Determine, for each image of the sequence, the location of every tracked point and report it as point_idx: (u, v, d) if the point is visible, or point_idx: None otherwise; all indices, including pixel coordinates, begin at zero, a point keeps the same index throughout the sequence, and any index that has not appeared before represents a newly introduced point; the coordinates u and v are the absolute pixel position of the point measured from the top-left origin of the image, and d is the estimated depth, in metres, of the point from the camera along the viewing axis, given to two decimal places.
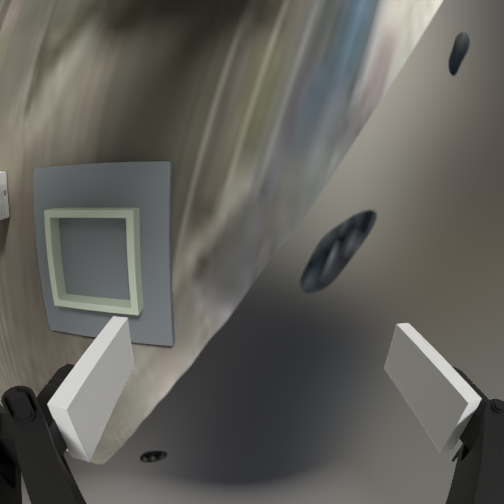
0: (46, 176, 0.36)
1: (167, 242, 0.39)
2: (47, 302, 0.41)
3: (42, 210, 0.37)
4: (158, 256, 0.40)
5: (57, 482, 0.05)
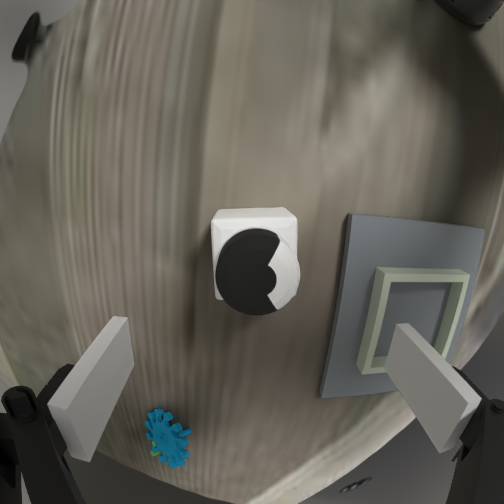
0: (372, 228, 0.34)
1: (470, 298, 0.37)
2: (332, 371, 0.39)
3: (360, 269, 0.35)
4: (461, 310, 0.38)
5: (57, 482, 0.05)
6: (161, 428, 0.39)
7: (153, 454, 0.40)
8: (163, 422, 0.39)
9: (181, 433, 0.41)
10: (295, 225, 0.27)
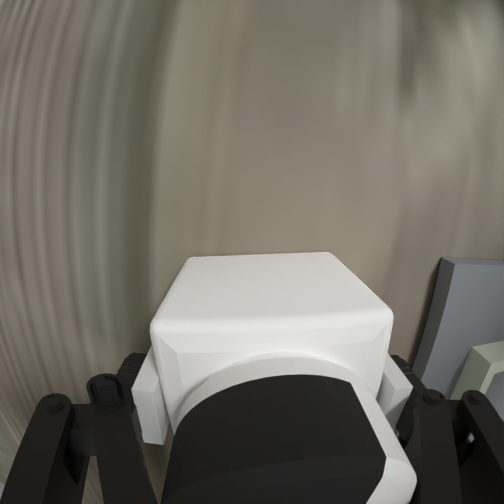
0: (479, 285, 0.16)
1: None
2: None
3: (449, 354, 0.17)
4: None
5: (135, 471, 0.06)
6: None
7: None
8: None
9: None
10: (389, 332, 0.09)
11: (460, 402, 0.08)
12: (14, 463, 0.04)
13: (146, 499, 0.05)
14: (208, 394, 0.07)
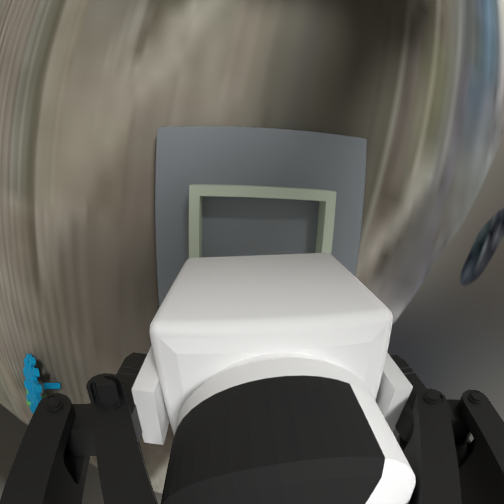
0: (182, 139, 0.29)
1: (358, 233, 0.33)
2: None
3: (172, 187, 0.31)
4: (346, 250, 0.33)
5: (135, 471, 0.06)
6: (28, 374, 0.34)
7: (27, 403, 0.35)
8: (29, 367, 0.34)
9: (49, 385, 0.36)
10: (388, 333, 0.09)
11: (460, 402, 0.08)
12: (14, 463, 0.04)
13: (146, 499, 0.05)
14: (208, 395, 0.07)
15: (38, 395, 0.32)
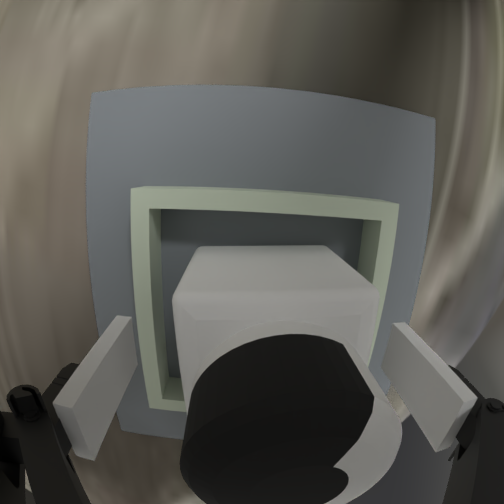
0: (129, 109, 0.16)
1: (419, 270, 0.19)
2: None
3: (112, 192, 0.17)
4: (399, 297, 0.19)
5: (62, 481, 0.05)
6: None
7: None
8: None
9: None
10: (375, 308, 0.11)
11: None
12: None
13: None
14: (224, 351, 0.09)
15: None
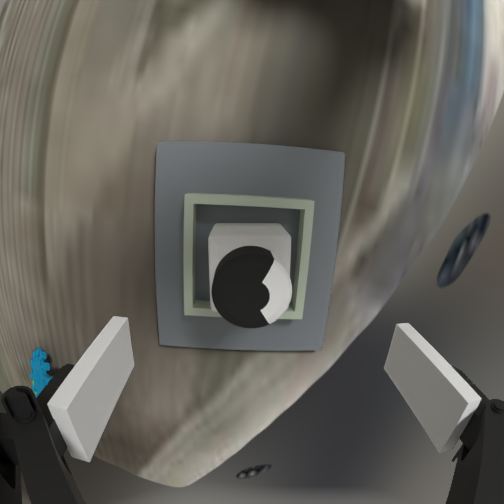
0: (179, 152, 0.34)
1: (336, 238, 0.37)
2: (162, 311, 0.38)
3: (170, 195, 0.35)
4: (325, 253, 0.37)
5: (57, 482, 0.05)
6: (37, 366, 0.38)
7: None
8: (39, 360, 0.38)
9: None
10: (289, 243, 0.29)
11: None
12: None
13: None
14: (228, 252, 0.27)
15: None
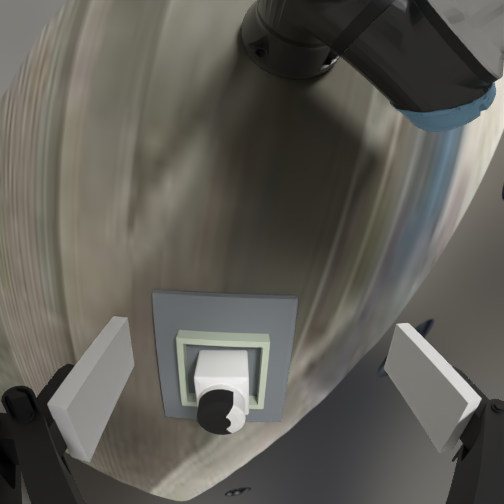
0: (169, 302, 0.45)
1: (289, 357, 0.49)
2: (166, 398, 0.50)
3: (166, 330, 0.47)
4: (281, 366, 0.49)
5: (57, 482, 0.05)
6: None
7: None
8: None
9: None
10: (247, 382, 0.41)
11: None
12: None
13: None
14: (206, 391, 0.39)
15: None
